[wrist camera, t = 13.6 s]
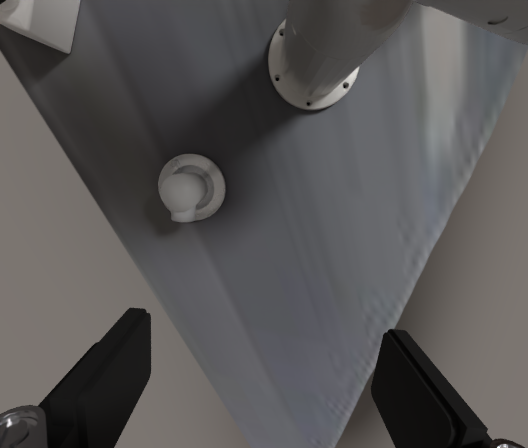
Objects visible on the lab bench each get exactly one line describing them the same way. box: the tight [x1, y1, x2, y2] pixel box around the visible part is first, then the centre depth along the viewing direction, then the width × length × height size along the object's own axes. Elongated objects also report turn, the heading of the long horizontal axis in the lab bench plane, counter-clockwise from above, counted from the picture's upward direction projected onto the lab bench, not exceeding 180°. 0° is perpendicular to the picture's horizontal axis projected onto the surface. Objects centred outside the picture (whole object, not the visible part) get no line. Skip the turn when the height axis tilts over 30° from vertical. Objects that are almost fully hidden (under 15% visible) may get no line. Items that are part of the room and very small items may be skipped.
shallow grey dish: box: [158, 154, 226, 220], centre depth 40 cm, size 10×10×2 cm
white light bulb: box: [161, 172, 208, 222], centre depth 37 cm, size 6×5×6 cm
